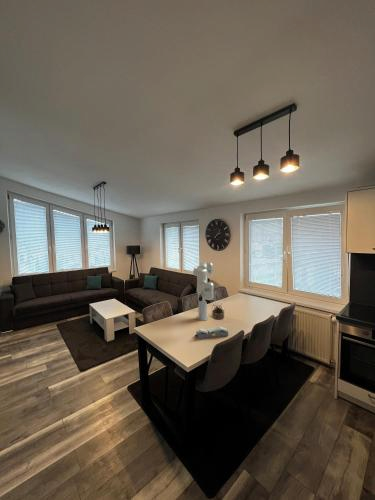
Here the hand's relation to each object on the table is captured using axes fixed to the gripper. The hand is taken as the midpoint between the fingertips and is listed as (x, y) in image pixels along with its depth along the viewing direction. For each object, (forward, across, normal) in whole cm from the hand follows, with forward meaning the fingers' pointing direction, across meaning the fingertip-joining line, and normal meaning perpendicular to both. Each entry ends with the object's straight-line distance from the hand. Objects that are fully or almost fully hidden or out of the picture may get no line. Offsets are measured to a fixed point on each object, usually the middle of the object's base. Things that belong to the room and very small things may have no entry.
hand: (200, 300), depth 203 cm
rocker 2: (+23, +16, +7) cm, 29 cm away
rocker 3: (+23, +16, +16) cm, 32 cm away
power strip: (+29, +15, +6) cm, 33 cm away
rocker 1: (+23, +16, -2) cm, 28 cm away
